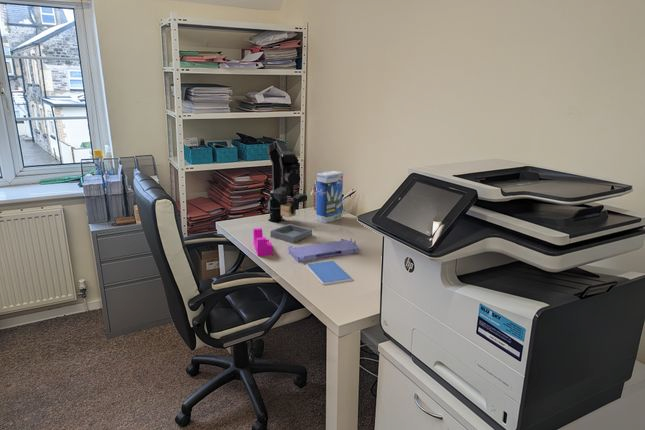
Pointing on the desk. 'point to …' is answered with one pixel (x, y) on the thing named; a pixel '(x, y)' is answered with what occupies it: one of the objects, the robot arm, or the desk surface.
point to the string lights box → (329, 196)
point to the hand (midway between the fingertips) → (288, 213)
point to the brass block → (287, 210)
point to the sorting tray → (291, 233)
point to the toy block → (261, 243)
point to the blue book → (329, 272)
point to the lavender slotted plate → (323, 250)
